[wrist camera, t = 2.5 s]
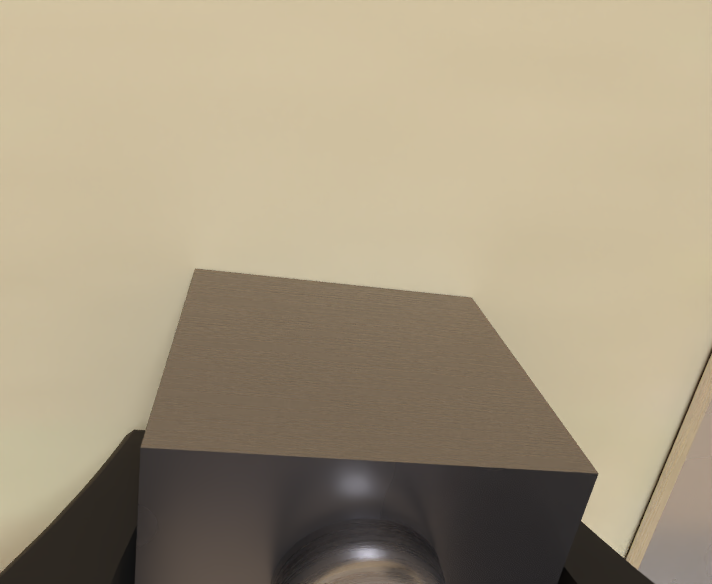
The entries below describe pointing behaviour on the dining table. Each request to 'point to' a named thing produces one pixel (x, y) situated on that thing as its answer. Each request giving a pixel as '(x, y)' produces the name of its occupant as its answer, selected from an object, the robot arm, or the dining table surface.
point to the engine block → (350, 444)
